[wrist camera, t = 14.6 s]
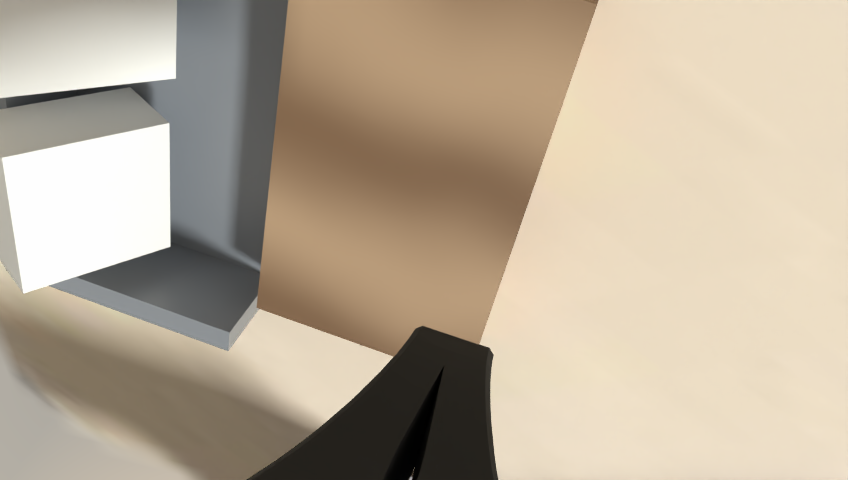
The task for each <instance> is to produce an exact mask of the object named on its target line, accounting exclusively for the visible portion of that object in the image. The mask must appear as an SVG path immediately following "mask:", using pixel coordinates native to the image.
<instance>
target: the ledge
mask: <svg viewBox="0 0 848 480" xmlns="http://www.w3.org/2000/svg"><path fill="white" fill-rule="evenodd" d="M597 3H598V0H288V9H287V18H286V28H285V37H284V47H283V57H282V66H281V76H280V86H279V95H278V105H277V115H276V124H275V134H274V143H273V153H272V163H271V172H270V182H269V192H268V201H267V211H266V221H265V230H264V240H263V249H262V259H261V269H260V278H259V288H258V298H257V307H256V308H259V309H262V310H265V311H267V312H270V313H273V314H276V315H279V316H281V317H284V318H287V319H290V320H293V321H296V322H298V323H301V324H304V325H307V326H310V327H312V328H315V329H318V330H321V331H324V332H326V333H329V334H332V335H335V336H338V337H341V338H343V339H346V340H349V341H352V342H355V343H357V344H360V345H363V346H366V347H369V348H371V349H374V350H377V351H380V352H383V353H385V354H388V355H391V356H395V355H396V354H397V353H398V351H399V350H400V349H401V348H402V346H403V345H404V344H405V343H406V341H407V340H408V339H409V337H410V336H411V334H412V333H413V331H414V330H415V328H418V327H421V326H425V327H428V328H431V329H434V330H437V331H440V332H443V333H446V334H449V335H452V336H455V337H458V338H461V339H464V340H467V341H470V342H473V343H476V344H479V343H480V340H481V337H482V334H483V331H484V329H485V326H486V323H487V320H488V317H489V314H490V311H491V308H492V306H493V303H494V300H495V297H496V294H497V291H498V288H499V285H500V282H501V280H502V277H503V274H504V271H505V268H506V265H507V262H508V259H509V257H510V254H511V251H512V248H513V245H514V242H515V239H516V236H517V234H518V231H519V228H520V225H521V222H522V219H523V216H524V213H525V211H526V208H527V205H528V202H529V199H530V196H531V193H532V190H533V187H534V185H535V182H536V179H537V176H538V173H539V170H540V167H541V164H542V162H543V159H544V156H545V153H546V150H547V147H548V144H549V141H550V139H551V136H552V133H553V130H554V127H555V124H556V121H557V118H558V116H559V113H560V110H561V107H562V104H563V101H564V98H565V95H566V92H567V90H568V87H569V84H570V81H571V78H572V75H573V72H574V69H575V67H576V64H577V61H578V58H579V55H580V52H581V49H582V46H583V44H584V41H585V38H586V35H587V32H588V29H589V26H590V23H591V21H592V18H593V15H594V12H595V9H596V6H597Z"/></svg>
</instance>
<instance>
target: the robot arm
mask: <svg viewBox="0 0 848 480" xmlns="http://www.w3.org/2000/svg"><path fill="white" fill-rule="evenodd" d="M492 360H493V353H492V352H491V350H490V348H488V347H485V346H482V345H479V344H476V343H473V342H470V341H467V340H464V339H461V338H458V337H455V336H452V335H449V334H446V333H443V332H440V331H437V330H434V329H431V328H428V327H425V326H421V327H418V328H415V330H414V331H413V333H412V334H411V336H410V337H409V339H408V340H407V341H406V343H405V344H404V345H403V346H402V348H401V349H400V350H399V351H398V353H397V354H396V355H395V356H394V357H393V358H392V359H391V361H390V362H389V363H388V364H387V365H386V366H385V367H384V368H383V369H382V370H381V372H380V373H379V374H378V375H377V376H376V377H375V378H374V379H373V380H372V381H371V382H370V383H369V384H367V385H366V386H365V387H364V388H363V389H362V390H361V391H360V392H359V393H358V394H357V395H356V396H355V397H354V398H353V399H352V400H351V401H350V402H349V403H348V404H347V405H345V406H344V407H343V408H342V409H341V410H340V411H338V412H337V413H336V414H335V415H334V416H333V417H332V418H330V419H329V420H328V421H327V422H326V423H325V424H323V425H322V426H321V427H320V428H319V429H317V430H316V431H315V432H314V433H312V434H311V435H310V436H309V437H307V438H306V439H305V440H303V441H302V442H301V443H299V444H298V445H297V446H295V447H294V448H293V449H291V450H290V451H289V452H287V453H286V454H284V455H283V456H282V457H280V458H279V459H277V460H276V461H274V462H273V463H271V464H270V465H268V466H267V467H265V468H264V469H262V470H261V471H259V472H258V473H256V474H255V475H253V476H252V477H250V478H249V479H247V480H498V477H497V471H496V463H495V456H494V446H493V436H492V426H491V411H490V378H491V367H492ZM414 468H415V469H414ZM413 470H414V473H413V477H411V474H412V472H413Z"/></svg>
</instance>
